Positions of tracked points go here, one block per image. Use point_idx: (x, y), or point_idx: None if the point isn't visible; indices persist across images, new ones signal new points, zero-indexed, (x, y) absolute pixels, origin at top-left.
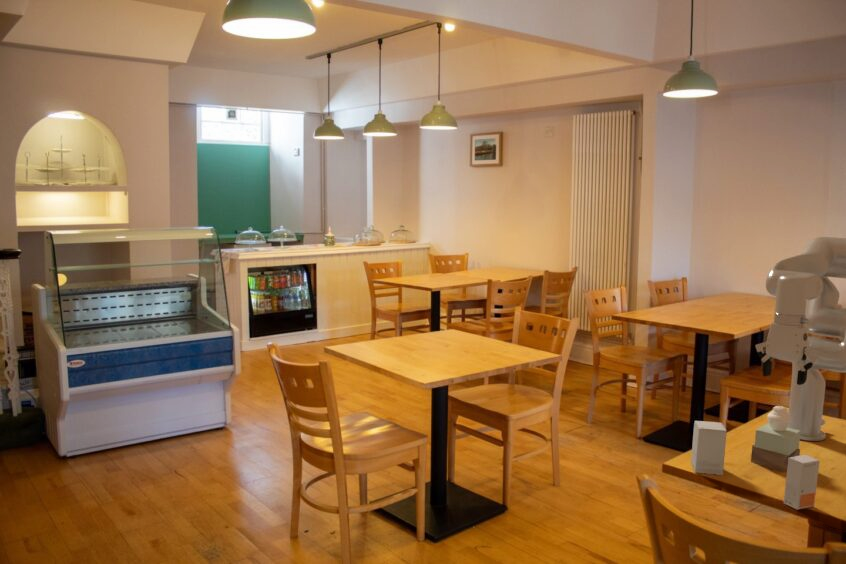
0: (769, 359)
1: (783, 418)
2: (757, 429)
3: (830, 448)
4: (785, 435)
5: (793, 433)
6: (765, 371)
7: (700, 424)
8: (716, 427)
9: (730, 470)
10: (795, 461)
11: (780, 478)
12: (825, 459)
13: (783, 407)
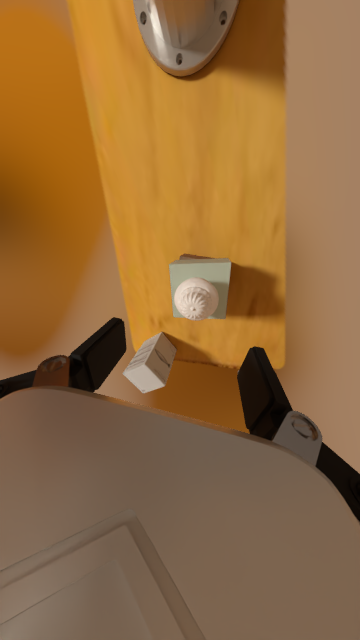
0: (71, 380)
1: (207, 316)
2: (174, 314)
3: (266, 66)
4: (216, 311)
5: (224, 291)
6: (115, 363)
7: (135, 383)
8: (152, 383)
9: (176, 333)
10: None
11: (221, 320)
12: (261, 183)
13: (200, 308)
